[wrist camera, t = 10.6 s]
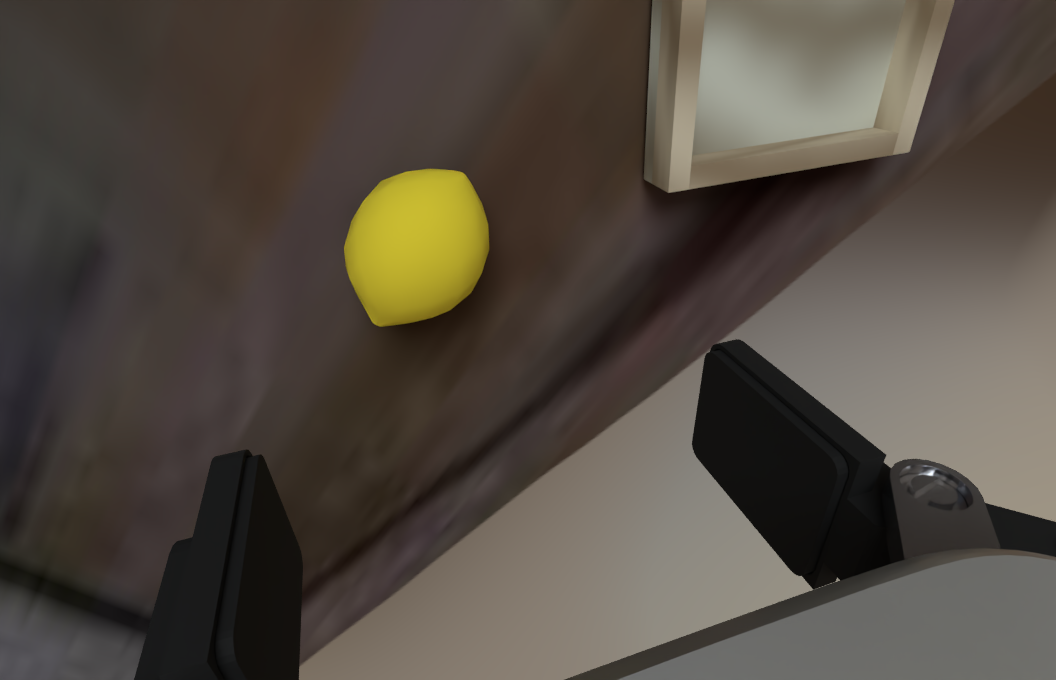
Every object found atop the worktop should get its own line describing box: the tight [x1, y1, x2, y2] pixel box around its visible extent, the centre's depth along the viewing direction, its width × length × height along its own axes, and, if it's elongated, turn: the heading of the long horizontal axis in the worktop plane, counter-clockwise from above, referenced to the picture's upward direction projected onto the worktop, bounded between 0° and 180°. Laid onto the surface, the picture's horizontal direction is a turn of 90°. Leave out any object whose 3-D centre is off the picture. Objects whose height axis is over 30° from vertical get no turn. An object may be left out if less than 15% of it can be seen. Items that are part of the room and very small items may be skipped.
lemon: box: [344, 169, 489, 327], centre depth 22 cm, size 7×5×5 cm
